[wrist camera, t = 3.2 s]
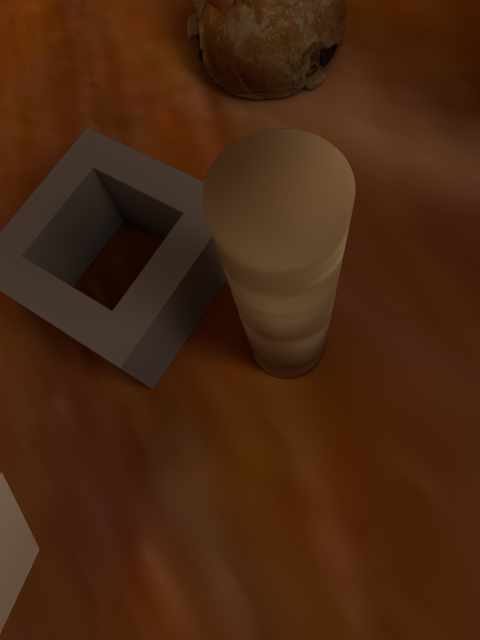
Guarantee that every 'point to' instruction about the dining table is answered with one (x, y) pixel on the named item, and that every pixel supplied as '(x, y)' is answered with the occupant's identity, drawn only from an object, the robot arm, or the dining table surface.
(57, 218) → the socket
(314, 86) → the bread roll
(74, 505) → the dining table surface
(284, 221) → the dowel
